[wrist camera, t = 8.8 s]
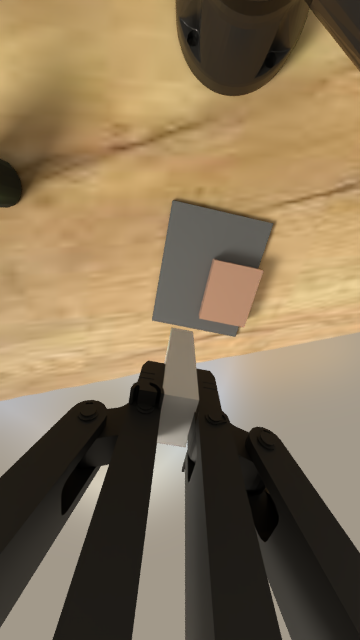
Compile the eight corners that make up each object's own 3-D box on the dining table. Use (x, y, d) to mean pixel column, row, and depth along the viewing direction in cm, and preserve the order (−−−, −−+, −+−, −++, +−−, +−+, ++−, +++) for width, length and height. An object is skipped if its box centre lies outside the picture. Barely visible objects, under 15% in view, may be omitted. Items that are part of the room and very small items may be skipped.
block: (214, 259, 34) (263, 270, 34) (212, 258, 36) (259, 268, 36) (199, 318, 37) (244, 327, 38) (198, 313, 39) (240, 322, 40)
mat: (172, 200, 33) (172, 200, 33) (271, 223, 34) (273, 223, 34) (152, 319, 41) (151, 320, 40) (234, 335, 42) (235, 336, 41)
